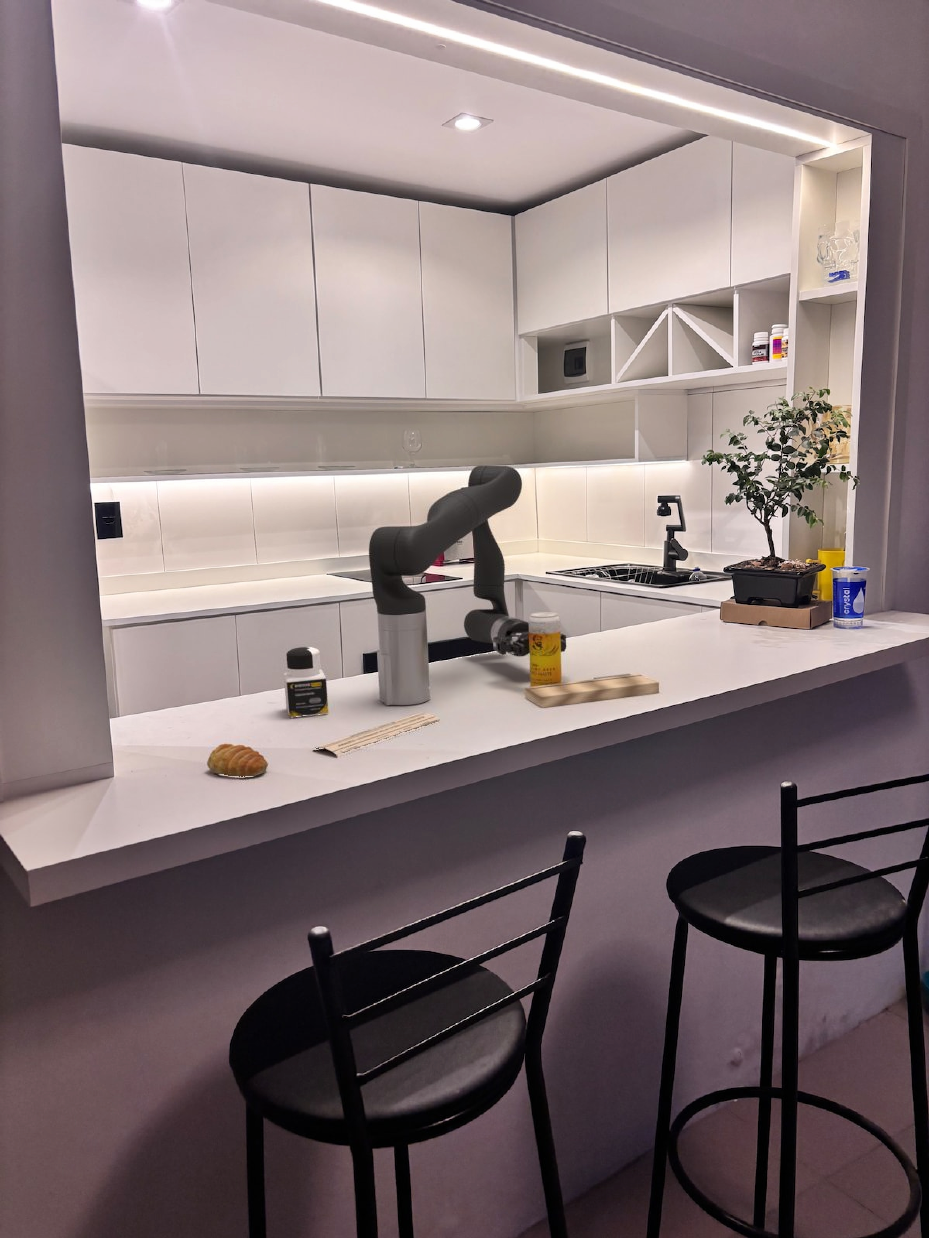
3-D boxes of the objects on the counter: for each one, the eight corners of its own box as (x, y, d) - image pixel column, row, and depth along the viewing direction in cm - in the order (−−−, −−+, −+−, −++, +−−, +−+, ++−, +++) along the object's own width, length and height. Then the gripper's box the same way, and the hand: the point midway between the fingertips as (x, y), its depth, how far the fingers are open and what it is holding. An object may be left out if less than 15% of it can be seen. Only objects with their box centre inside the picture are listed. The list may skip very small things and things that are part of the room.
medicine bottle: (289, 718, 160) (284, 654, 158) (286, 709, 167) (281, 647, 165) (328, 714, 162) (324, 650, 160) (324, 705, 169) (320, 643, 167)
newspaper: (337, 762, 137) (336, 751, 137) (308, 754, 142) (307, 743, 141) (440, 725, 154) (439, 715, 154) (411, 719, 159) (410, 709, 159)
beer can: (525, 692, 172) (523, 616, 170) (538, 685, 178) (535, 611, 175) (554, 694, 169) (552, 617, 167) (566, 687, 175) (564, 612, 172)
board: (541, 707, 160) (541, 696, 160) (525, 697, 168) (525, 687, 168) (658, 692, 168) (658, 681, 167) (638, 683, 175) (638, 673, 175)
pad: (609, 686, 174) (609, 685, 174) (593, 679, 180) (593, 677, 180) (645, 682, 176) (645, 680, 176) (628, 675, 183) (628, 673, 183)
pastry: (279, 770, 132) (277, 746, 132) (245, 785, 127) (243, 759, 126) (237, 761, 138) (234, 737, 137) (202, 774, 132) (199, 750, 132)
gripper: (481, 621, 185) (508, 633, 170) (543, 615, 190) (576, 626, 175) (482, 656, 187) (510, 671, 171) (544, 649, 191) (577, 663, 176)
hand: (543, 648), depth 173 cm, fingers open, 8 cm apart
